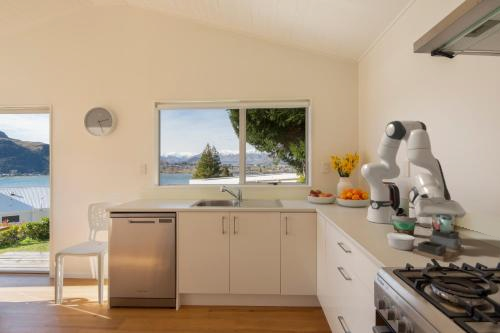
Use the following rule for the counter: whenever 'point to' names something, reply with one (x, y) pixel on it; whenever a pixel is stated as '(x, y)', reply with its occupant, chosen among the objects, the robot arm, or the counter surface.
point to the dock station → (440, 245)
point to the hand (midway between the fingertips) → (446, 224)
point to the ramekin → (400, 241)
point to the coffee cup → (435, 226)
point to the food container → (404, 225)
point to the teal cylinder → (445, 224)
